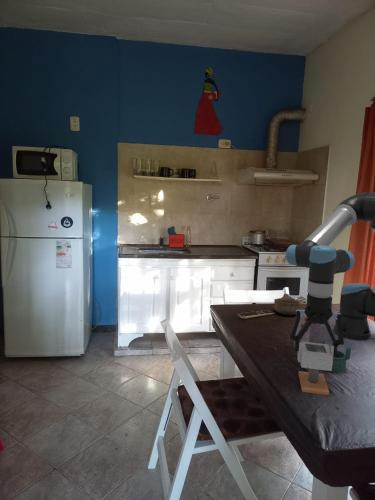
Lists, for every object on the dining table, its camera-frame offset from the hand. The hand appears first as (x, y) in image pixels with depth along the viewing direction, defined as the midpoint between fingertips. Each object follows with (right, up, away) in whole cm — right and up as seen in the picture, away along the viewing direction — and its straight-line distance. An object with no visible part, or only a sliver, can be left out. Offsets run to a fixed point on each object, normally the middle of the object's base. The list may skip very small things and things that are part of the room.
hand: (314, 362), depth 115 cm
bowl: (+12, +2, +76) cm, 77 cm away
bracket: (+11, -6, +13) cm, 18 cm away
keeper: (0, -8, +1) cm, 8 cm away
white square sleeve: (0, 0, 0) cm, 0 cm away
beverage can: (+5, -4, +29) cm, 30 cm away
